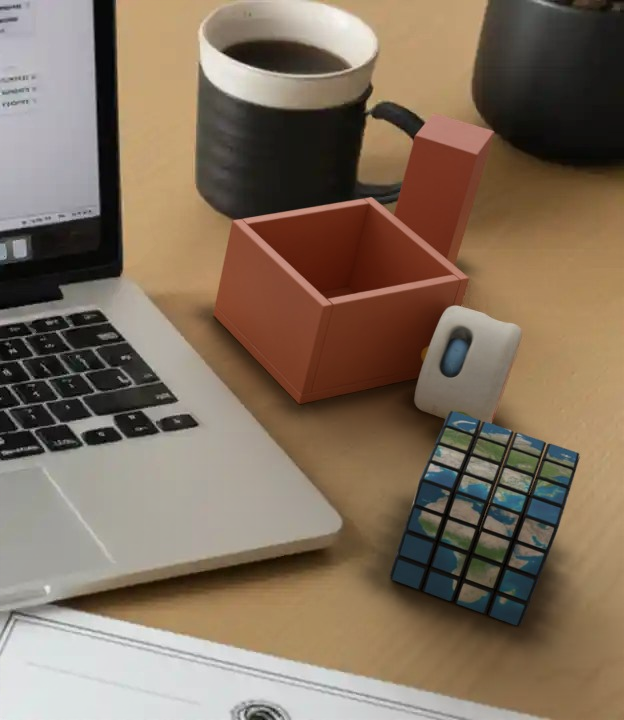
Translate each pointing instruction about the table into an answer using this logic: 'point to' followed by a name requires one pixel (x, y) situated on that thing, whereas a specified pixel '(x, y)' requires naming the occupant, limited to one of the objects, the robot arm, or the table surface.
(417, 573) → the puzzle
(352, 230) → the terracotta bin
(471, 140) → the terracotta block
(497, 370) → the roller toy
